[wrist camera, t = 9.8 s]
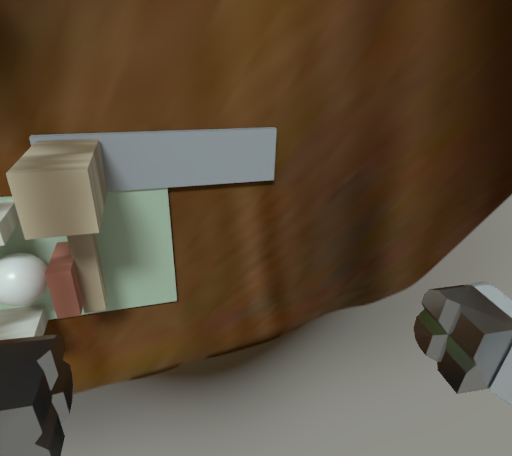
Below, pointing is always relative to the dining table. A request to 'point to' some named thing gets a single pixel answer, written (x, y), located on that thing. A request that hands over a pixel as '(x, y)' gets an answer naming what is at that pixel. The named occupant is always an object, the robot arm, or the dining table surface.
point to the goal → (21, 318)
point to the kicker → (65, 217)
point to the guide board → (182, 156)
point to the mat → (119, 250)
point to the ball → (22, 279)
